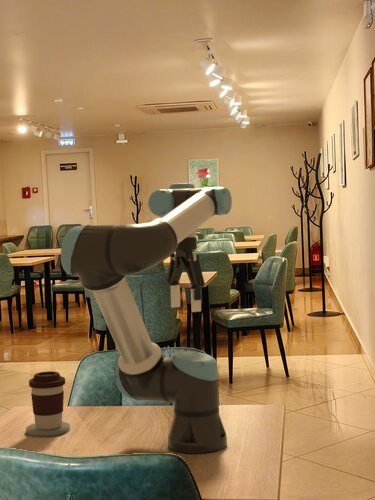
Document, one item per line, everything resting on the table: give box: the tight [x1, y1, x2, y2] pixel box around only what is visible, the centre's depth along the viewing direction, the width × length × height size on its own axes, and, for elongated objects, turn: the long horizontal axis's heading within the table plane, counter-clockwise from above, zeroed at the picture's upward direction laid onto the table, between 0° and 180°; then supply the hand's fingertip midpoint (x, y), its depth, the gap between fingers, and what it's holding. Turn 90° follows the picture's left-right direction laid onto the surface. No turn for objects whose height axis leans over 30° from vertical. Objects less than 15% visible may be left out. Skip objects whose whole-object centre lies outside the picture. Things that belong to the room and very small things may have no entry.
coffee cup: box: [28, 370, 66, 430], centre depth 204 cm, size 10×10×15 cm
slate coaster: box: [25, 421, 71, 439], centre depth 204 cm, size 12×12×1 cm
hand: (185, 309), depth 213 cm, fingers open, 13 cm apart
